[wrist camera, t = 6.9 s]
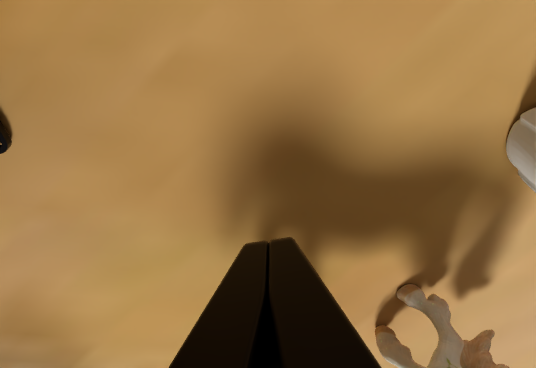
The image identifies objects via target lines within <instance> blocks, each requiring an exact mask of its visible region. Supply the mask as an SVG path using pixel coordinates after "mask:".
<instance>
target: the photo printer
mask: <svg viewBox="0 0 536 368" xmlns="http://www.w3.org/2000/svg"><path fill="white" fill-rule="evenodd" d="M506 151H507V156H508V158H509V160H510V162H511V163H512V164H513V165H514V166H515V167H516V168H517V169H518V174H519V176H520V177H521V178H522V180H523V181H524V182H525V183H526V184H527V185H528V186H529V187H530V188H531V189H532V190H533V191H535V192H536V107H535V108H533V109H530V110H528V111H526V112H524V113H523V114H521V116H520V120H518V121H516V122H515V123H514V125H513V127H512V128H511V130H510V132H509V135H508V138H507V144H506Z"/></svg>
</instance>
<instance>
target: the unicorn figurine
mask: <svg viewBox="0 0 536 368" xmlns="http://www.w3.org/2000/svg"><path fill="white" fill-rule="evenodd" d="M397 297H398V298H399V299H400V300H402V301H403V302H405V303H406V304H407V305H408V306H409V307H413V308H415V309H418V310H420V311H421V312H423V313H424V314H425V315H426V316H427V317H428V318H429V319H430V320H431V321H432V323H433V325H434V326H435V328H436V330H437V332H438V335H439V341H438V346H437V348H436V349H435V351H434V352H433V355H432V357H431V360H430V363H429V365H428V366H427V368H509V367H508V366H505V365H504V364H498V365H496V364H495V363H494V362H493V360H492V356H491V354H490V353H489V349H490V346H491V339H492V338H493V337H494V331H493V330H485V331H483V332H481V333H480V334H479V335H478V336H476V337H475V338H474V339H472V340H471V341H468V340H462V339H461V337H460V336H459V335H458V333H457V332H456V331H455V330H454V329H453V327H452V326H451V324H450V318H451V313H450V311H449V306H448V304H447V302H446V301H445V300H444V299H441V298H439V297H438V296H437V295H435V294H431V295H430V296H429V297H428V299H426V297H425V294H424V292H423V291H422V290H421V289H420V288H419V287H418V286H416V285H413V284H407V285H404V286H403V287H402V288H400V289H399V290H398V291H397ZM375 335H376V343H377V346H378V348H379V351H380V353H381V355H382V356H383V357H384V359H385V360H387V361H388V362H390V363H392V364H393V365H395V366H397V367H399V368H426V367H423V366H421V365H419V364H417V363H416V362H414V360H413V359H412V356H411V352H410V349H409V348H408V347H406V346H404V345H402V344H401V343H400V341H399V340H398V339H397V338H396V335H395V333H394V331H393V330H392V329H390V328H389V327H387V326H384V325H380V326H378V327H376V329H375Z"/></svg>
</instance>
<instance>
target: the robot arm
mask: <svg viewBox="0 0 536 368" xmlns="http://www.w3.org/2000/svg"><path fill="white" fill-rule="evenodd" d="M0 142H1V143H2V145H0V154H2V153H4V152H6V151H7V150H8V149H9V147H10V146H11V143H12V141H11V138H10V136H9V134H8V133H7V131H6V130H5V128H4V126H3V125H2V123H1V121H0ZM169 368H381V366H380V365H379V363H378V362H377V360H376V359H375V357H374V356H373V354H372V353H371V352H370V350H369V349H368V347H367V346H366V344H365V343H364V341H363V340H362V338H361V337H360V335H359V334H358V332H357V331H356V330H355V328H354V327H353V325H352V324H351V322H350V321H349V319H348V318H347V316H346V315H345V313H344V312H343V310H342V309H341V308H340V306H339V305H338V303H337V302H336V300H335V299H334V297H333V296H332V294H331V293H330V291H329V290H328V288H327V287H326V286H325V284H324V283H323V281H322V280H321V278H320V277H319V275H318V274H317V272H316V271H315V269H314V268H313V266H312V265H311V264H310V262H309V261H308V259H307V258H306V256H305V255H304V253H303V252H302V250H301V249H300V247H299V246H298V244H297V243H296V242H295V240H294V239H293V238H291V237H287V238H280V239H273V240H271V241H270V243H268V242H267V241H259V242H252V243H247V244H245V245H244V246H243V247H242V249H241V251H240V252H239V254H238V256H237V257H236V259H235V260H234V262H233V264H232V265H231V267H230V269H229V270H228V272H227V273H226V275H225V277H224V278H223V280H222V282H221V283H220V285H219V286H218V288H217V290H216V291H215V293H214V295H213V296H212V298H211V299H210V301H209V303H208V304H207V306H206V308H205V309H204V311H203V312H202V314H201V316H200V317H199V319H198V321H197V322H196V324H195V325H194V327H193V329H192V330H191V332H190V334H189V335H188V337H187V338H186V340H185V342H184V343H183V345H182V347H181V348H180V350H179V351H178V353H177V355H176V356H175V358H174V360H173V361H172V363H171V364H170V366H169Z"/></svg>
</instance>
